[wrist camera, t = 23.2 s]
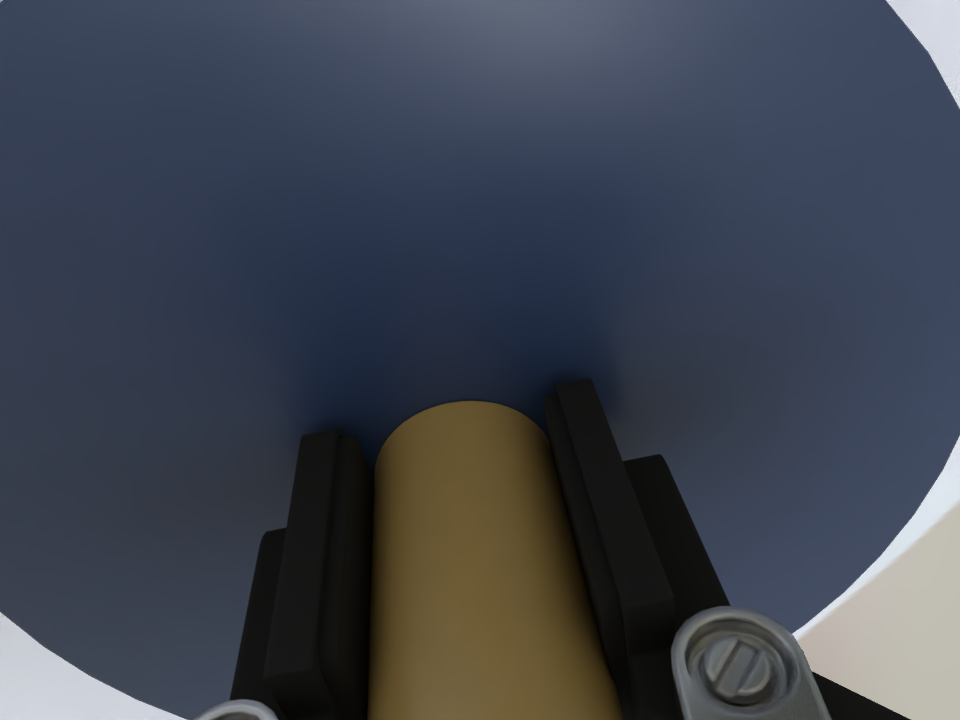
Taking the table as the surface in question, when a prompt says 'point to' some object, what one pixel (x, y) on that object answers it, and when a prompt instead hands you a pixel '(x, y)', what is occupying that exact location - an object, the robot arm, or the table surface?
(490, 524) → the tin lid
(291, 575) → the robot arm
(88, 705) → the table surface
